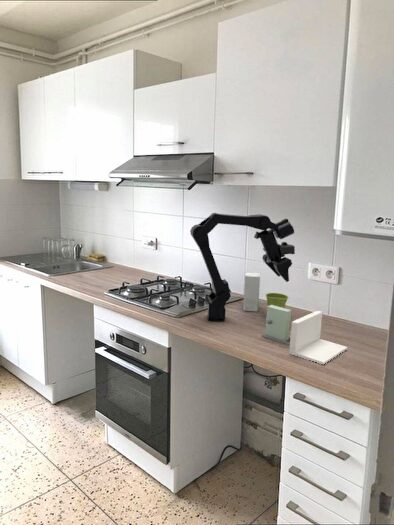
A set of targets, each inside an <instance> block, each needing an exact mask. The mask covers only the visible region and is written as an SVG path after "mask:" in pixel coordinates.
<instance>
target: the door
mask: <svg viewBox="0 0 394 525" xmlns="http://www.w3.org/2000/svg"><path fill="white" fill-rule="evenodd" d="M266 308H267V309H266V318H265V319H266V320H265V330H264V335H268V336H271V337H274V338H277V339H280V340H283V341H286V342H288V341H290V340H289V337H290V333H291V331H290V330H291V322H292V321H291V318H292V309H288V308H286V307H285V308H282V307H278V306H274V305H270V306H268V305H267V307H266Z"/></svg>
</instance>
